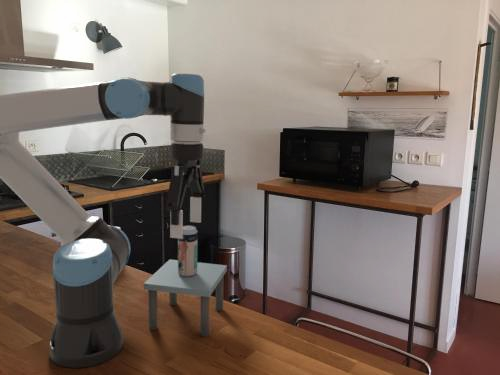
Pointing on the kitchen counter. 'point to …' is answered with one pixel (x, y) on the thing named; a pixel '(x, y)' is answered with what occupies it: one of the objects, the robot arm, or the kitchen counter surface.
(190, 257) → the beer can
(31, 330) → the kitchen counter surface
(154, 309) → the pale blue square-topped fixture
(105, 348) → the robot arm
